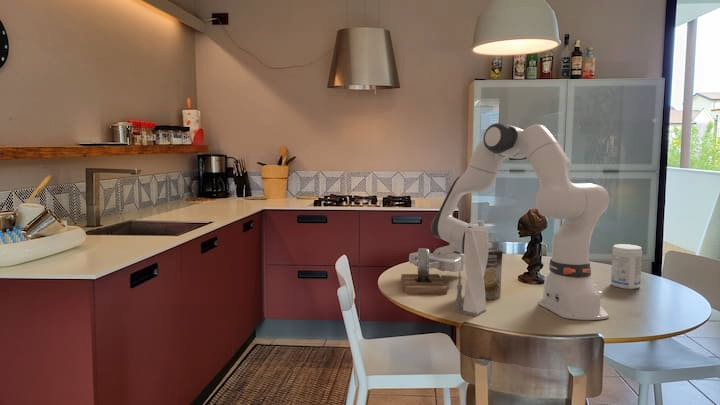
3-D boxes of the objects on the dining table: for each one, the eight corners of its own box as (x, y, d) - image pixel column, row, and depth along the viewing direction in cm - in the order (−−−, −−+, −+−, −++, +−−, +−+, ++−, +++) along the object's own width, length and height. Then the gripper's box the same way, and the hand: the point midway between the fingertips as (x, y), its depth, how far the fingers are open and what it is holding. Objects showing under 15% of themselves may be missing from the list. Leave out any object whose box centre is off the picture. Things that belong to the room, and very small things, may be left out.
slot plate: (446, 294, 179) (447, 287, 179) (406, 294, 179) (406, 287, 178) (438, 280, 197) (438, 274, 196) (401, 280, 197) (401, 274, 196)
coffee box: (477, 300, 172) (478, 252, 170) (467, 295, 178) (468, 249, 176) (501, 298, 174) (502, 251, 173) (490, 293, 180) (492, 247, 179)
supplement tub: (631, 282, 195) (633, 243, 194) (645, 289, 186) (648, 248, 184) (605, 282, 195) (607, 243, 193) (618, 289, 186) (621, 248, 184)
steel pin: (429, 283, 186) (430, 250, 184) (418, 283, 186) (418, 250, 184) (427, 280, 190) (428, 248, 188) (416, 280, 190) (417, 248, 188)
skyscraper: (467, 305, 167) (470, 218, 164) (491, 310, 162) (494, 221, 158) (454, 311, 160) (457, 221, 157) (478, 317, 155) (481, 224, 152)
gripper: (422, 246, 203) (399, 251, 193) (467, 254, 189) (445, 260, 179) (421, 262, 204) (399, 268, 194) (467, 271, 190) (445, 278, 180)
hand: (421, 264), depth 186 cm, fingers closed on steel pin, 4 cm apart
